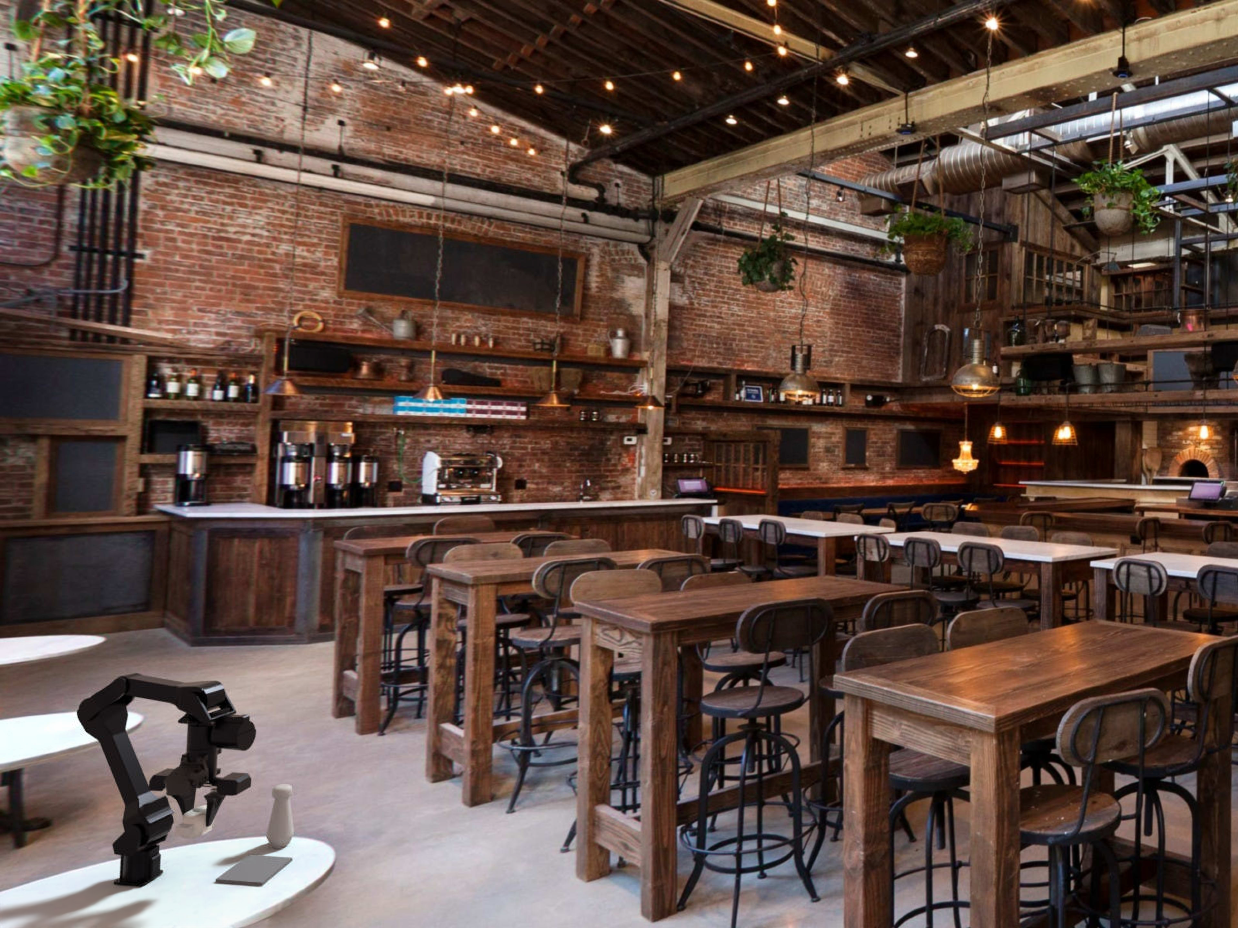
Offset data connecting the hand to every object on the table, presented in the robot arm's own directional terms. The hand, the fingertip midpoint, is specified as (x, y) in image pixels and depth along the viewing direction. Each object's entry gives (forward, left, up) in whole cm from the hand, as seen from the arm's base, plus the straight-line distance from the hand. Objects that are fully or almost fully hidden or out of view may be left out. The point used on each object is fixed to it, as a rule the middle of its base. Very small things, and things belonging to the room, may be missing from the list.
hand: (198, 825), depth 164 cm
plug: (0, 0, -1) cm, 1 cm away
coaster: (+8, +9, -12) cm, 17 cm away
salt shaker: (+6, +22, -12) cm, 26 cm away
